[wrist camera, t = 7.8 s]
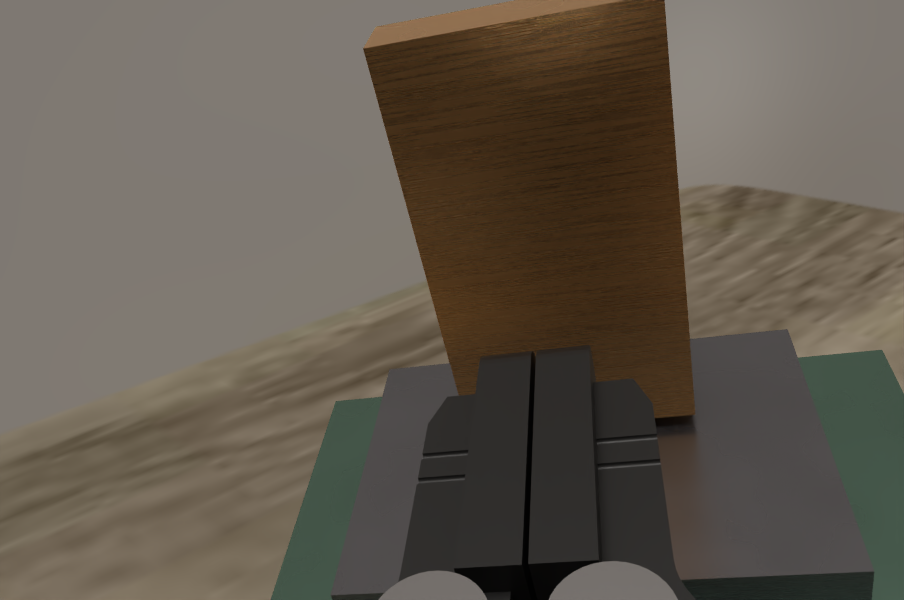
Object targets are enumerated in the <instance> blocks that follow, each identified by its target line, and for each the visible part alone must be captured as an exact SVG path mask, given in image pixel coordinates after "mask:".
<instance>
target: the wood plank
mask: <svg viewBox="0 0 904 600" xmlns="http://www.w3.org/2000/svg"><path fill="white" fill-rule="evenodd" d="M363 50H364V53H365V57H366V61H367V64H368V68H369V71H370V75H371V78H372V82H373V86H374V90H375V93H376V97H377V100H378V104H379V108H380V111H381V114H382V119H383V122H384V126H385V129H386V133H387V137H388V141H389V144H390V148H391V151H392V155H393V159H394V162H395V166H396V170H397V173H398V177H399V180H400V184H401V188H402V191H403V195H404V199H405V202H406V206H407V209H408V213H409V216H410V220H411V224H412V228H413V231H414V235H415V239H416V242H417V246H418V249H419V253H420V257H421V260H422V264H423V268H424V271H425V275H426V279H427V282H428V286H429V290H430V293H431V297H432V301H433V304H434V308H435V311H436V315H437V319H438V322H439V326H440V330H441V333H442V337H443V341H444V344H445V348H446V351H447V355H448V359H449V362H450V366H451V370H452V373H453V377H454V381H455V384H456V388H457V391H458V395H459V396H460V395H470V394H475V392H476V384H477V376H478V368H479V361H480V358H481V357H482V356H491V355H500V354H510V353H519V352H528V351H533V352H534V353H535V356H536V352H537V350H545V349H554V348H564V347H573V346H583V345H590V347H591V352H592V358H593V364H594V370H595V377H596V382H601V381H611V380H622V379H632V378H633V379H634V380H635V382H636V383H637V384H638V385H639V387H640V388H641V389H642V390H643V392H644V393H645V394H646V395H647V397H648V398H649V399H650V401H651V402H652V403H653V410H654V417H655V418H662V417H674V416H686V415H695V402H694V389H693V375H692V362H691V349H690V335H689V322H688V309H687V295H686V282H685V268H684V255H683V242H682V228H681V215H680V202H679V188H678V175H677V161H676V150H675V149H676V148H675V135H674V122H673V108H672V95H671V82H670V68H669V54H668V41H667V28H666V14H665V2H664V0H515V1H509V2H504V3H499V4H494V5H488V6H483V7H478V8H472V9H467V10H462V11H457V12H451V13H446V14H441V15H436V16H430V17H425V18H420V19H415V20H409V21H404V22H399V23H393V24H388V25H383V26H378V27H376V28H375V29H374V31H373V33H372V34H371V36H370V38H369V40H368V41H367V43H366V45H365V46H364V48H363Z"/></svg>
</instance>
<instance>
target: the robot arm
mask: <svg viewBox="0 0 904 600" xmlns="http://www.w3.org/2000/svg"><path fill="white" fill-rule="evenodd" d="M422 454H423V459H421V464H420V469H419V475H418V484H417V486H416V491H415V496H414V502H413V507H412V513H411V518H410V523H409V529H408V534H407V540H406V545H405V550H404V556H403V561H402V567H401V572H400V576H399V580H398V583H396V584H395V585H394V586H392V587H391V588H389V589H388V590H387V591H386V592H385V593H384V594H383V595H382V596H381V597H380V598H379V600H696V599H695V598H694V597H693V596H692V594H691V593H690V592H689V591H688V590H687V589H686V587H685V586H684V584H683V583H682V581H681V580H680V577H679V575H678V573H677V570H676V567H675V563H674V558H673V550H672V543H671V535H670V528H669V521H668V513H667V506H666V498H665V491H664V484H663V476H662V469H661V462H660V454H659V447H658V440H657V432H656V424H655V417H654V410H653V403H652V402H651V401H650V399H649V398H648V397H647V395H646V394H645V393H644V392H643V390H642V389H641V388H640V387H639V385H638V384H637V383H636V382H635V380H634V379H633V378H632V379H622V380H611V381H601V382H596V377H595V370H594V364H593V358H592V352H591V347H590V345H583V346H573V347H564V348H554V349H545V350H537V352H536V356H535V353H534V352H533V351H528V352H519V353H510V354H500V355H491V356H482V357H481V358H480V361H479V368H478V376H477V384H476V392H475V394H470V395H460V396H450V397H447V398H446V399H445V401H444V402H443V403H442V405H441V406H440V408H439V409H438V410H437V412H436V413H435V415H434V416H433V418H432V419H431V420H430V422H429V423H428V426H427V432H426V437H425V442H424V448H423V453H422Z"/></svg>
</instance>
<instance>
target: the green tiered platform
mask: <svg viewBox="0 0 904 600" xmlns="http://www.w3.org/2000/svg"><path fill="white" fill-rule="evenodd" d="M690 349H691V362H692V375H693V389H694V402H695V415H686V416H674V417H662V418H655V424H656V432H657V440H658V447H659V454H660V462H661V469H662V476H663V484H664V491H665V498H666V506H667V513H668V521H669V528H670V535H671V543H672V550H673V558H674V563H675V567H676V570H677V573H678V575H679V577H680V580H681V581H682V583H683V584H684V586H685V587H686V589H687V590H688V591H689V592H690V593H691V594H692V596H693V597H694V598H695V599H696V600H904V393H903V391H902V389H901V387H900V385H899V383H898V381H897V379H896V377H895V375H894V373H893V371H892V369H891V367H890V365H889V363H888V361H887V359H886V357H885V355H884V353H883V351H882V350H875V351H865V352H854V353H843V354H833V355H822V356H812V357H801V358H798V357H797V355H796V352H795V349H794V346H793V343H792V341H791V338H790V335H789V332H788V330H787V329H786V330H776V331H766V332H756V333H746V334H736V335H726V336H716V337H706V338H697V339H690ZM450 396H459V395H458V391H457V388H456V384H455V381H454V377H453V373H452V370H451V366H450V363H449V364H439V365H429V366H419V367H410V368H400V369H390V370H389V374H388V378H387V382H386V385H385V389H384V393H383V397H376V398H366V399H355V400H344V401H336V402H335V405H334V409H333V412H332V415H331V418H330V421H329V424H328V427H327V430H326V433H325V436H324V439H323V442H322V445H321V448H320V451H319V454H318V457H317V460H316V463H315V466H314V469H313V473H312V476H311V479H310V482H309V485H308V488H307V491H306V494H305V497H304V500H303V503H302V506H301V509H300V512H299V515H298V518H297V521H296V524H295V527H294V530H293V534H292V537H291V540H290V543H289V546H288V549H287V552H286V555H285V558H284V561H283V564H282V567H281V570H280V573H279V576H278V579H277V582H276V585H275V588H274V591H273V595H272V598H271V600H379V598H380V597H381V596H382V595H383V594H384V593H385V592H386V591H387V590H388V589H389V588H391V587H392V586H394V585H395V584H396V583H398V580H399V576H400V572H401V567H402V561H403V556H404V550H405V545H406V540H407V534H408V529H409V523H410V518H411V513H412V507H413V502H414V496H415V491H416V486H417V484H418V475H419V469H420V464H421V459H423V454H422V453H423V448H424V442H425V437H426V432H427V426H428V423H429V422H430V420H431V419H432V418H433V416H434V415H435V413H436V412H437V410H438V409H439V408H440V406H441V405H442V403H443V402H444V401H445V399H446V398H447V397H450Z"/></svg>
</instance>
